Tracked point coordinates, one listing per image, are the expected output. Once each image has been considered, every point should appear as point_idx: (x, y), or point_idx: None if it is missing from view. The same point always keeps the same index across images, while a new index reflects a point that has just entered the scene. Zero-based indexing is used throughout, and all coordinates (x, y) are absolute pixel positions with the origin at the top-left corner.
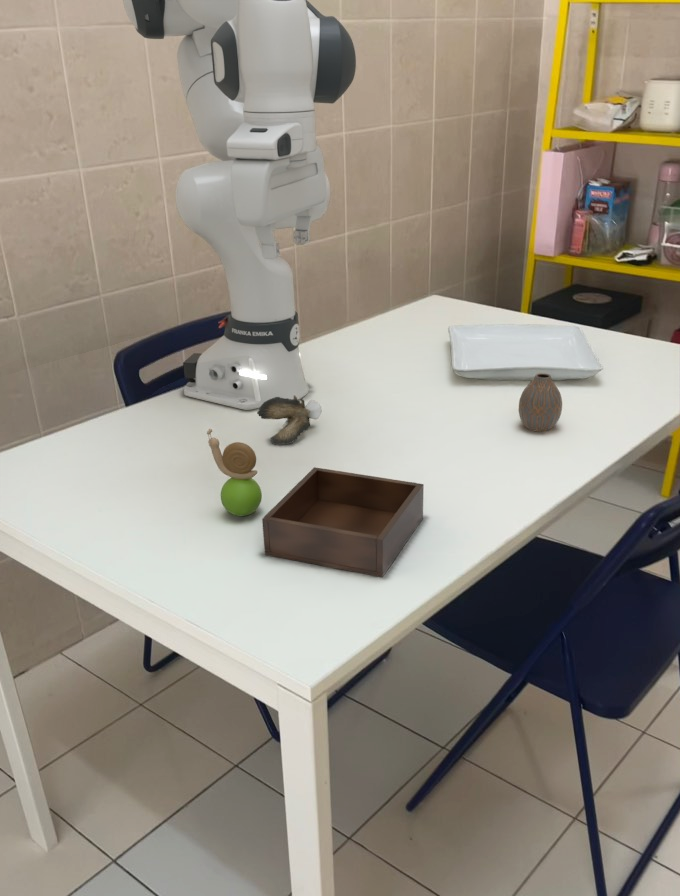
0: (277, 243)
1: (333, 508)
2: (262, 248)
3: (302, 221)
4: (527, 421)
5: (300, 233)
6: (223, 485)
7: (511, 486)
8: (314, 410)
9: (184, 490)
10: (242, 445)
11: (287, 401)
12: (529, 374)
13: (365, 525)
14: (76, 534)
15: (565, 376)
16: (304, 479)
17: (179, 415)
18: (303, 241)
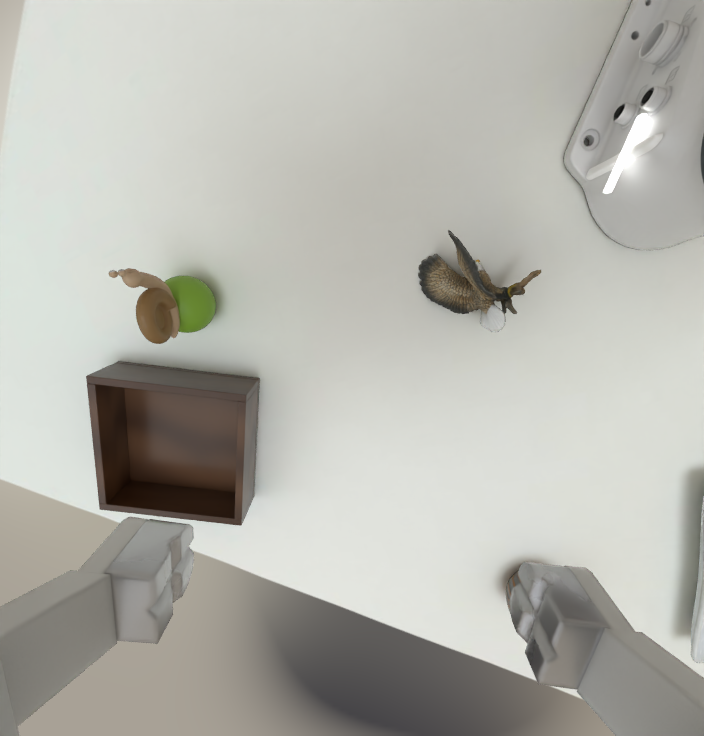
0: (139, 641)
1: (235, 408)
2: (97, 552)
3: (657, 720)
4: (512, 582)
5: (543, 646)
6: (168, 283)
7: (352, 565)
8: (489, 321)
9: (234, 187)
10: (140, 329)
11: (477, 282)
12: (698, 575)
13: (208, 450)
14: (59, 85)
15: (693, 612)
16: (206, 393)
17: (531, 18)
18: (515, 616)
